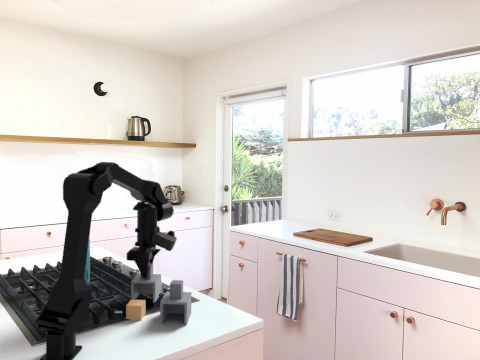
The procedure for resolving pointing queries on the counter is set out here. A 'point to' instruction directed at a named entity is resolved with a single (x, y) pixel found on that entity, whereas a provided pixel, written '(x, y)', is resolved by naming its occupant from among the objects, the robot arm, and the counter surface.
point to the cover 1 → (146, 284)
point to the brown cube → (135, 309)
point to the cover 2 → (176, 301)
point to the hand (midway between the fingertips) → (146, 276)
